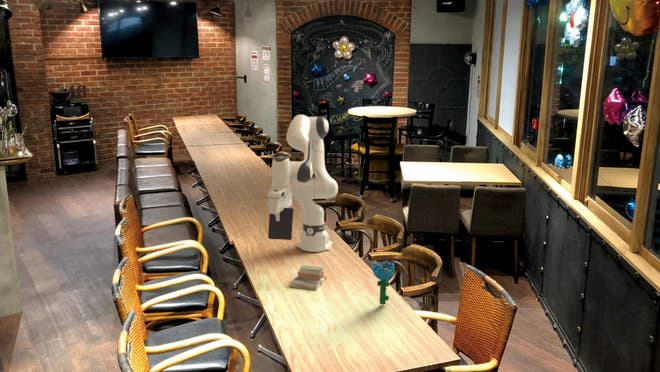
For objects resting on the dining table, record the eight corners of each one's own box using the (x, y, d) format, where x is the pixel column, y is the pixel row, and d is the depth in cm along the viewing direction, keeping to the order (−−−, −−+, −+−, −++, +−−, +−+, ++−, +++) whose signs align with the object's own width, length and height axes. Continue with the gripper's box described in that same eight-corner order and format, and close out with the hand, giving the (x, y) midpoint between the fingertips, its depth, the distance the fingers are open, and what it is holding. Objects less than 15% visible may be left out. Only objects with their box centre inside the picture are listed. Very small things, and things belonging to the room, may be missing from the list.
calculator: (290, 239, 284) (292, 208, 284) (291, 240, 280) (293, 208, 280) (267, 238, 283) (269, 206, 283) (268, 238, 279) (270, 207, 279)
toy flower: (368, 302, 258) (369, 262, 254) (384, 298, 263) (385, 259, 259) (380, 309, 250) (382, 268, 247) (397, 305, 255) (398, 264, 252)
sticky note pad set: (301, 276, 289) (301, 262, 288) (326, 279, 285) (326, 265, 284) (289, 286, 275) (289, 272, 274) (316, 290, 271) (316, 275, 270)
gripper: (283, 186, 290) (283, 213, 293) (266, 194, 271) (266, 223, 273) (295, 187, 288) (295, 215, 291) (278, 195, 269) (278, 224, 272)
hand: (280, 219), depth 282 cm, fingers closed on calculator, 5 cm apart
